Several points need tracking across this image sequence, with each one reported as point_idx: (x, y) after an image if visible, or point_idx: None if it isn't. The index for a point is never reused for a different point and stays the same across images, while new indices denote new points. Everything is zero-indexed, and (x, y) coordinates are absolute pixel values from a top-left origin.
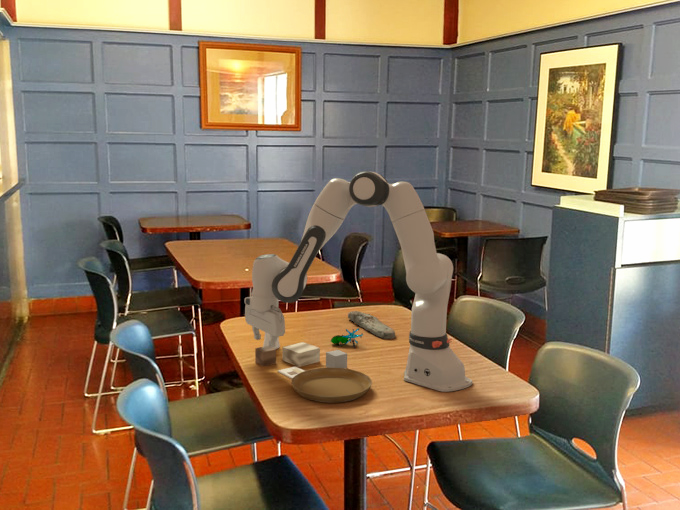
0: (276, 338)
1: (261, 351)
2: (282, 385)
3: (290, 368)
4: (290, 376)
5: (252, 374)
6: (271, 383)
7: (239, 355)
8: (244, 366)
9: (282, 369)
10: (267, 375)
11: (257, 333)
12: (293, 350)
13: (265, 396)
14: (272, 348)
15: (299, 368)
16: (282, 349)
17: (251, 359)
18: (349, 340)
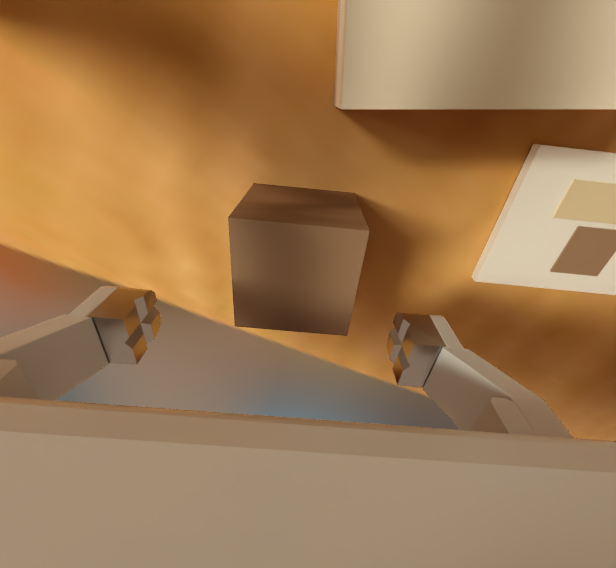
0: (516, 392)
1: (323, 332)
2: (599, 358)
3: (527, 205)
4: (599, 290)
5: (392, 366)
6: (537, 372)
7: (94, 266)
8: (279, 337)
9: (489, 253)
10: (457, 335)
11: (90, 342)
12: (538, 93)
13: (587, 436)
14: (323, 236)
15: (592, 156)
16: (340, 108)
17: (196, 258)
18: None
